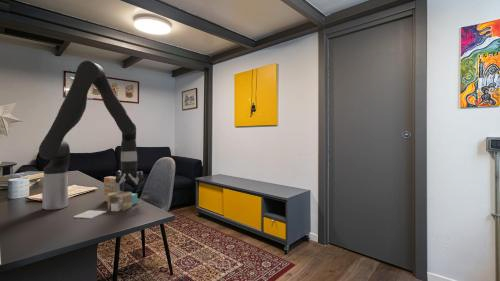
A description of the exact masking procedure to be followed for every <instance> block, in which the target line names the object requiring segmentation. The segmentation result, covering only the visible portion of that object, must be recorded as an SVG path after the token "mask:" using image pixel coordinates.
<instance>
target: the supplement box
mask: <svg viewBox="0 0 500 281" xmlns="http://www.w3.org/2000/svg"><path fill="white" fill-rule="evenodd" d="M121 178H122V176H121ZM116 191H118V192H123V191H120V185H119V183H116V176H113V175H112V176H111V175H110V176H105V177H103V201H104V202H106V203H108V194H110V193H113V192H116ZM119 200H122V197H118V201H119Z"/></svg>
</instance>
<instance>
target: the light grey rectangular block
mask: <svg viewBox="0 0 500 281" xmlns="http://www.w3.org/2000/svg"><path fill="white" fill-rule="evenodd" d="M110 211H111V212H119V211H122V200H119V201H117V202H115V203H112V204H111V210H110Z"/></svg>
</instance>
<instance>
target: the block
mask: <svg viewBox="0 0 500 281" xmlns="http://www.w3.org/2000/svg"><path fill="white" fill-rule="evenodd" d="M136 204H138V193H132V206H134V205H136Z"/></svg>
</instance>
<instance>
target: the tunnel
mask: <svg viewBox="0 0 500 281" xmlns="http://www.w3.org/2000/svg"><path fill="white" fill-rule="evenodd" d="M132 194H133V192H132V191H122V192H118V191H116V192H113V193H110V194H108V202H107V210H108V211H111V204H112V203H115V202H117V201H118V197H122V210H121V211H124V212H125V211H126V210H129V209H131V208H133V205H132Z"/></svg>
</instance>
